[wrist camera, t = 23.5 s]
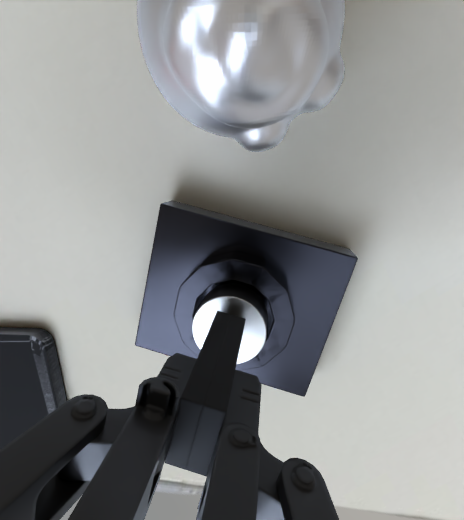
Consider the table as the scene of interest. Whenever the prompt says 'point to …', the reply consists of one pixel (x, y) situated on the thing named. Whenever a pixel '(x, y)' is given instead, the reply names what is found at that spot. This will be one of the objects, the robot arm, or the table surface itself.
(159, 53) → the ghost figurine
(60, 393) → the phone
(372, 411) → the table surface
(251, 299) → the stove button
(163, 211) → the panel
